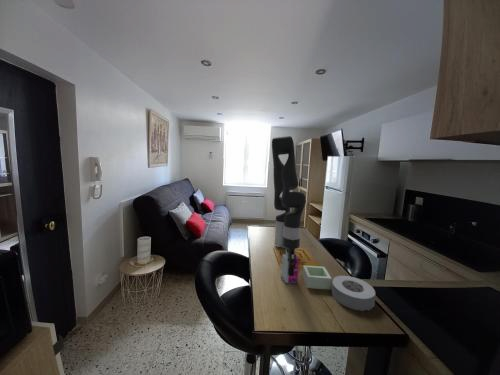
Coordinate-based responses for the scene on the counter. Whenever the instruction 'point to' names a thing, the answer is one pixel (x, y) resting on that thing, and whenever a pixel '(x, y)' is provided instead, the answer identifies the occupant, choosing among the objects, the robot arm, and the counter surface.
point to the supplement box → (285, 268)
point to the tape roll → (353, 293)
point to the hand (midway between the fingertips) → (289, 270)
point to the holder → (316, 277)
